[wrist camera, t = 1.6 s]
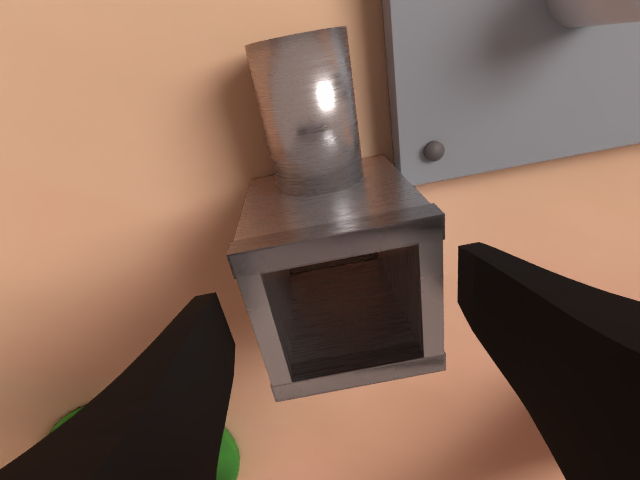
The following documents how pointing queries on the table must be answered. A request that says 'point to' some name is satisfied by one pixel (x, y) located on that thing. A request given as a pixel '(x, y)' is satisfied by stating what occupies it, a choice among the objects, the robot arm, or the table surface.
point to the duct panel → (508, 82)
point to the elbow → (333, 235)
